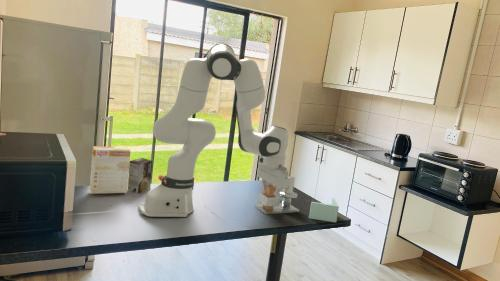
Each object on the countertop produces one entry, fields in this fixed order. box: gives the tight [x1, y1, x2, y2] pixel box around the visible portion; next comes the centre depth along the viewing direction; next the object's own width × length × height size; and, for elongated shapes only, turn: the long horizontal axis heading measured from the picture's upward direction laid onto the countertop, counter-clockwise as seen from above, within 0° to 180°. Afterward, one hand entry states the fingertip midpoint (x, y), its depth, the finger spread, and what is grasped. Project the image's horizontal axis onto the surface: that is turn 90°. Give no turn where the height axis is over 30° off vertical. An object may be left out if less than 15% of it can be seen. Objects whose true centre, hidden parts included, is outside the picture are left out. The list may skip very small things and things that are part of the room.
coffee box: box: [127, 157, 153, 194], centre depth 172 cm, size 9×6×16 cm
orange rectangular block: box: [263, 184, 276, 209], centre depth 166 cm, size 4×4×10 cm
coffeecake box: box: [89, 145, 131, 195], centre depth 161 cm, size 15×7×20 cm, turn 118°
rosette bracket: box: [254, 175, 300, 215], centre depth 169 cm, size 18×10×15 cm, turn 120°
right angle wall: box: [308, 198, 340, 223], centre depth 169 cm, size 12×12×8 cm
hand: (270, 192), depth 166 cm, fingers open, 8 cm apart
